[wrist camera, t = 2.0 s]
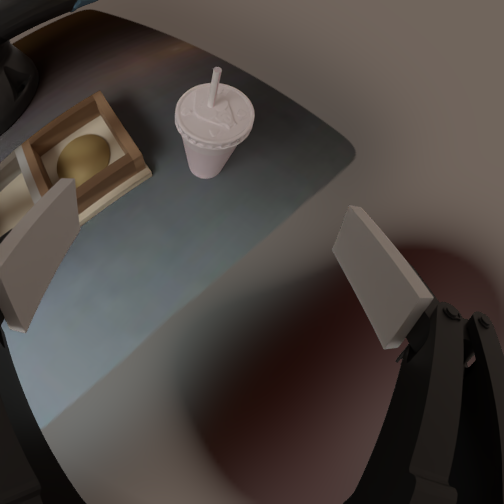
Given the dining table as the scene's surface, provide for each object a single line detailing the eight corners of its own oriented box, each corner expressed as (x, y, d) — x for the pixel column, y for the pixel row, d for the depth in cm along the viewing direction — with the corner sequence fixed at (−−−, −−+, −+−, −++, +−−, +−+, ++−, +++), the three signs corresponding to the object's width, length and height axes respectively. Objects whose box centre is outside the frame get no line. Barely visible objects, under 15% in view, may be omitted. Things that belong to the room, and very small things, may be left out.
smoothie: (207, 128, 31) (225, 35, 17) (247, 165, 31) (288, 83, 18) (163, 161, 29) (155, 71, 16) (204, 202, 29) (220, 127, 16)
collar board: (-23, 207, 23) (-40, 197, 19) (106, 105, 29) (99, 85, 25) (7, 290, 23) (-13, 288, 19) (152, 175, 29) (148, 158, 25)
